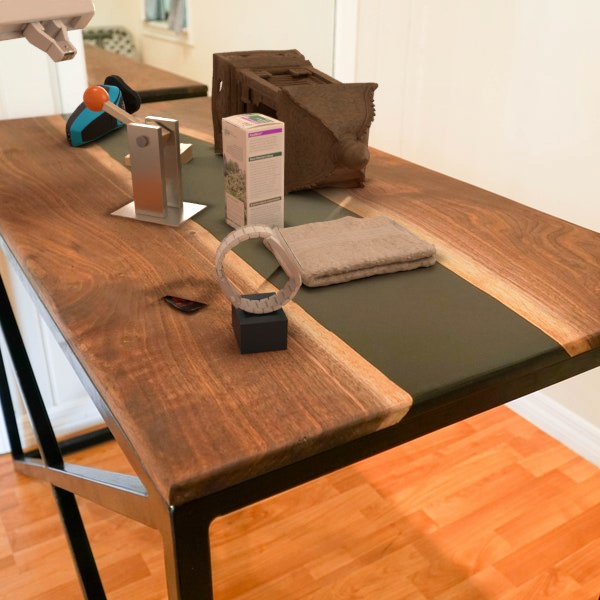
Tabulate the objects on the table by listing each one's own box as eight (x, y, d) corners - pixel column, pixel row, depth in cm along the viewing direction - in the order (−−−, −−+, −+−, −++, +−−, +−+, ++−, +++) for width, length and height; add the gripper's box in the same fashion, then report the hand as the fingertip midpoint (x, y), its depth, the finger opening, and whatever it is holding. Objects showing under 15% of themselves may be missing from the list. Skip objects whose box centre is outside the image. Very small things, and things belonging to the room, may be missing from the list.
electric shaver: (103, 114, 137) (149, 118, 136) (43, 159, 116) (96, 165, 115) (97, 71, 132) (145, 75, 131) (33, 111, 112) (88, 116, 110)
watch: (307, 346, 61) (312, 237, 56) (221, 356, 59) (217, 244, 54) (293, 317, 66) (296, 214, 61) (213, 325, 64) (209, 219, 59)
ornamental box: (400, 224, 96) (431, 94, 88) (293, 227, 87) (317, 84, 79) (292, 154, 122) (308, 50, 114) (202, 151, 114) (213, 39, 106)
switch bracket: (111, 222, 86) (99, 124, 80) (144, 203, 93) (136, 111, 87) (177, 234, 83) (171, 134, 77) (207, 214, 90) (203, 119, 84)
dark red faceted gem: (192, 315, 65) (192, 311, 65) (153, 301, 67) (152, 297, 67) (220, 297, 69) (220, 293, 69) (182, 284, 71) (182, 280, 71)
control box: (148, 154, 114) (146, 131, 112) (193, 157, 113) (191, 134, 111) (125, 171, 105) (123, 146, 103) (173, 175, 104) (172, 150, 102)
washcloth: (441, 266, 77) (445, 242, 76) (305, 294, 70) (306, 268, 69) (386, 230, 87) (389, 208, 85) (261, 251, 79) (261, 228, 78)
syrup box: (285, 234, 84) (287, 120, 77) (245, 244, 81) (244, 126, 74) (261, 220, 88) (261, 111, 81) (223, 229, 85) (220, 116, 78)
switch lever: (75, 105, 83) (80, 83, 81) (90, 101, 86) (96, 78, 84) (152, 156, 82) (160, 134, 80) (165, 149, 85) (173, 128, 83)
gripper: (-73, -55, 69) (16, 50, 71) (58, -54, 86) (128, 31, 88) (-93, -11, 73) (-8, 89, 75) (37, -18, 90) (105, 63, 91)
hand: (67, 57), depth 81 cm, fingers closed
